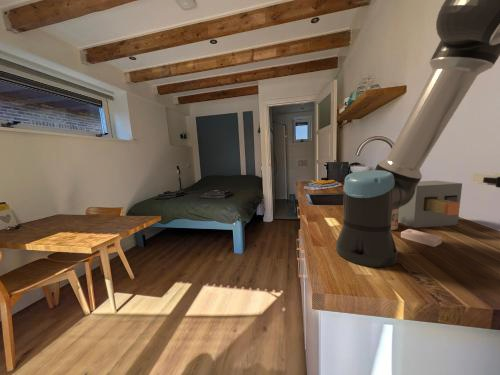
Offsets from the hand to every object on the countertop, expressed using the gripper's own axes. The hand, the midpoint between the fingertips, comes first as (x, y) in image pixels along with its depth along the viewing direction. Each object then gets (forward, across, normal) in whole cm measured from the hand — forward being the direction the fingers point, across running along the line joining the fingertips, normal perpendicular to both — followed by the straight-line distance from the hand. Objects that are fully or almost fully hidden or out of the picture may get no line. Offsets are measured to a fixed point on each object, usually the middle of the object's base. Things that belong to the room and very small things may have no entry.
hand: (482, 178), depth 58 cm
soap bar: (+5, -13, -21) cm, 25 cm away
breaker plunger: (+12, 0, -13) cm, 18 cm away
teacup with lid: (+19, -14, -20) cm, 31 cm away
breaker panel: (+20, +3, -20) cm, 28 cm away
